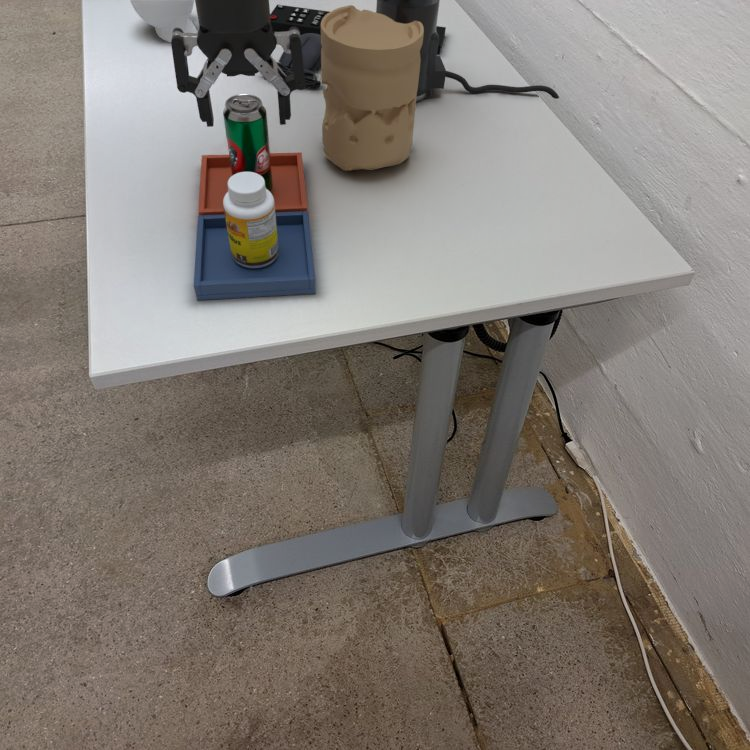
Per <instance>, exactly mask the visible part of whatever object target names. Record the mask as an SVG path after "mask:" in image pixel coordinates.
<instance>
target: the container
mask: <svg viewBox="0 0 750 750" xmlns="http://www.w3.org/2000/svg"><path fill="white" fill-rule="evenodd" d="M423 35H424V28H423V25H422V23H421V22H419V21H413V22H411V23H408V24H403V23H398V22H395V21H393V20H392V19H391V18H389V17H387V16H385V15H383V14H380V13H376V11H372V10H369V9H362V10H360V9H358V8H357V7H356V6H354V5H352V4H350V5H345V6H340V7H338V8H335V9H333V10H331V11H329V13H328V14H326V15H325V16H324V17H323V19H322V21H321V45H322V49H321V67H320V71H321V73H320V75H321V85H327V86H326V88H324V89H322V95H323V99H324V102H325V108H324V109H325V110H324V117H323V120H322V124H321V125H322V126H321V139H322V141H321V142H322V145H323V148H322V151H323V154H324V156H325V157H326V158H327V159H328V160H329V161H331V162H332V163H333V164H334V165H335V166H336V167H338V168H339V169H341V171H343V172H349V171H350V172H351V171H355V170H356V171H358V170H371V171H372V170H373V171H374V170H378V169H382V168H386V167H393V166H397V165H400V164H402V163H403V162H404V161H405V160H407V159H408V158H409V157H410V156H411V152H412V148H411V147H412V145H413V136H414V127H415V116H416V106H417V105H416V104H417V102H416V97H417V94H416V93H417V89H418V82H419V72H420V61H421V58H420V49H421V46H422V43H423Z"/></svg>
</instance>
